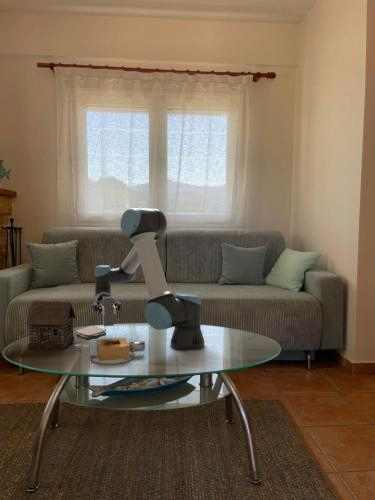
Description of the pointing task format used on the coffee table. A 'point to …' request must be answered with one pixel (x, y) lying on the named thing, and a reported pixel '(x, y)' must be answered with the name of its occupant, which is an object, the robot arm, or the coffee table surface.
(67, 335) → the model building
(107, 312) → the wedge pin
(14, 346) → the coffee table surface
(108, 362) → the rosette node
